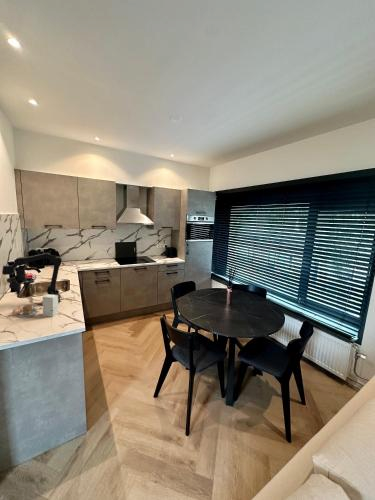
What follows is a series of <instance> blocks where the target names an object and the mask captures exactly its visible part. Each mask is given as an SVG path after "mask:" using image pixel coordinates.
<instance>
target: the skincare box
mask: <svg viewBox="0 0 375 500" xmlns="http://www.w3.org/2000/svg"><path fill="white" fill-rule="evenodd" d="M58 314H59V303H58V295H50V294H48V293H47V294H45V295H43V296H42V316H43V317H50V318H51V317H52V318H53V317H55V316H58Z"/></svg>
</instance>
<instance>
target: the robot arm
mask: <svg viewBox="0 0 375 500" xmlns="http://www.w3.org/2000/svg"><path fill="white" fill-rule="evenodd" d="M44 259H48V260H49V261H51V262H52V263H53V270H52V275H51V280H50V281H51V282H50V284H48V285H47V289H46V294H47V295H48V294H50V295H58V304H60V303H61V302H62V300H61V294H59V293H60V291H59V290H58V289H57V279H58V275H59V269H60V267H61V264H62V261H63V258H62V257H61V256H57V255H54V254H51V253H50V252H45V253H41V254H40V253H39V254H36V255H31V256H19V257H17V258H16V259H14V261H13V264H12V265H3V266H2V271H1V272H2V273H1V274H2V275H3V276H7V275H8V276H9V275H14V274H15V275H14V277H9V278H7V279H6V282H7V284H8V283H9V284H8V287H9V288H11V289H13V290H14V292H15V293H16V295H18V296H19V295H20V294H21V291H22V290H21V289H22V284H23V287H24V291H25V292H27V291H28V289H29V287H30V286H31V283H32V282H33V281H34V280H33V278H34V277H32V276H31V277H30V276H28V277H27V273H26V269H27V268H28V267H29V266H28V265H26V264H28V263H31V262H35V261H40V260H44Z"/></svg>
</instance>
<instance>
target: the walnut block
mask: <svg viewBox="0 0 375 500" xmlns="http://www.w3.org/2000/svg"><path fill="white" fill-rule="evenodd" d="M23 306H24V307H23V312H22V313H23V315H30V314H31V313H32V312H33V310H32V309H33V304H25V305H23Z"/></svg>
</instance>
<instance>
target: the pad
mask: <svg viewBox="0 0 375 500" xmlns="http://www.w3.org/2000/svg"><path fill="white" fill-rule="evenodd" d="M32 311H33V310H32ZM37 313H39V311H38V310H36V311H33V312H32V313H31V314H30V315H23V312H22V313H20V315H18V316H16V317H17V318H18V319H20V318H21V319H23V318H24V319H25V318H26V319H27V318H32V317H33V316H35V315H36V314H37Z"/></svg>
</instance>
